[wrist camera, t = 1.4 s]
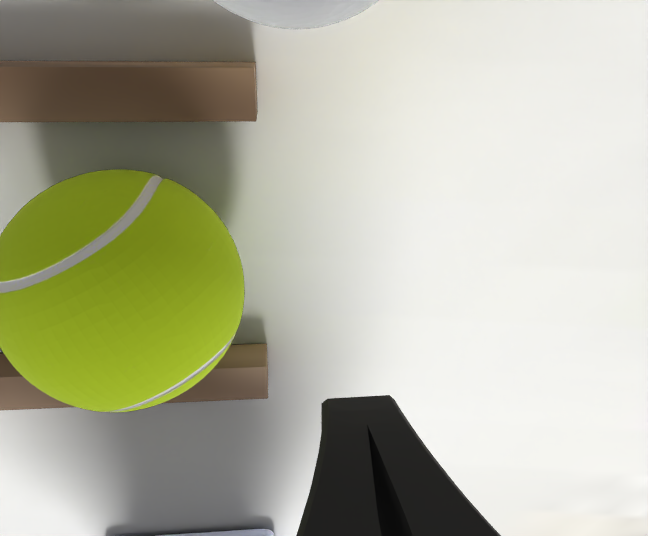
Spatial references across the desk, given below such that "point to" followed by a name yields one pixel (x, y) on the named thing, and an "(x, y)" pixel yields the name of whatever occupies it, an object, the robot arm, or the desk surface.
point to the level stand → (136, 106)
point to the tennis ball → (117, 290)
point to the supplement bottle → (296, 11)
